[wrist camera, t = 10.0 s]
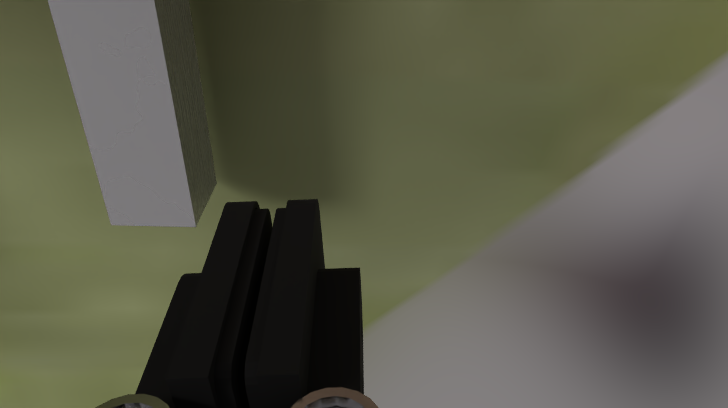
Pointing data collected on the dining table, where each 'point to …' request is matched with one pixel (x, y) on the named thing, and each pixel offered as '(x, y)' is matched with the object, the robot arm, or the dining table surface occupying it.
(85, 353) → the dining table surface
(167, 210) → the folding leg
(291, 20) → the dining table surface
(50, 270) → the dining table surface
